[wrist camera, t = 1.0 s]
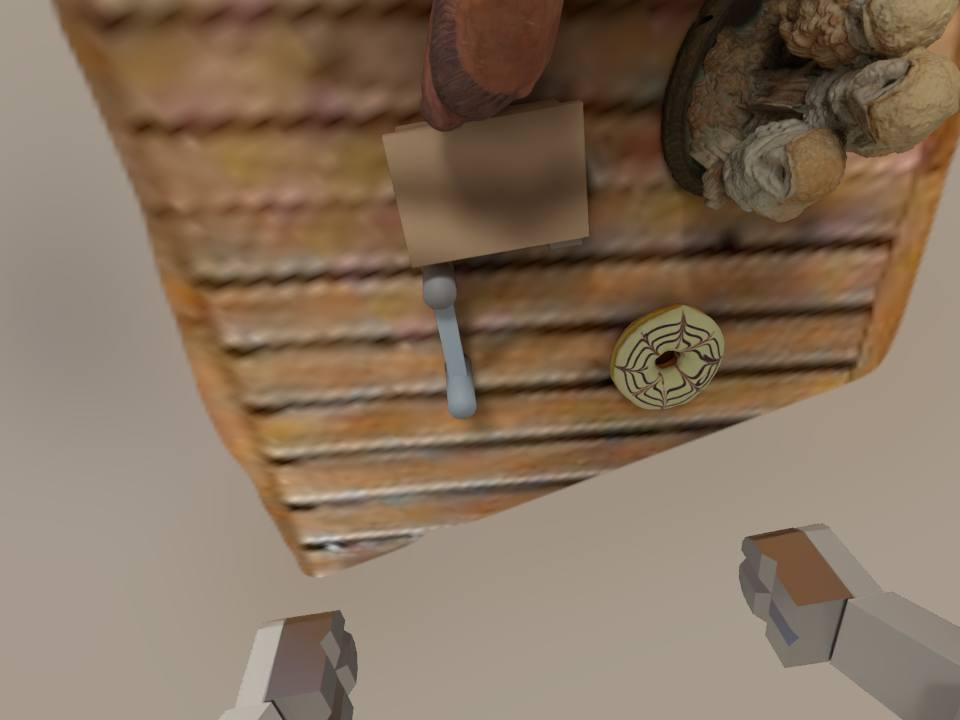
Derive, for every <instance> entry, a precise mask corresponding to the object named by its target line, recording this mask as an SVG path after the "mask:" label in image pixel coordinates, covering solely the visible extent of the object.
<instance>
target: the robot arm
mask: <svg viewBox="0 0 960 720" xmlns="http://www.w3.org/2000/svg"><path fill="white" fill-rule="evenodd" d="M742 552H743V553H744V555H745V556H746V559H745V560H744V561H743V562H742V563H741V564H740V567H739V580H740V584H741V589H742V592H743V595H744V597H745V599H746V602H747V603H748V605H749V607H750V609H751V611H752V613H753V614H754V615H756V616H758V617H759V618H761V619H762V620H764V621H765V622H767V627H766V637H767V639H768V640H769V642H770V644H771V645H772V647H773V649H774V650H775V652H776V654H777V655H778V657H779V659H780V661H781V662H782V664H783V665H784V667H785V668H787V667H793V666H801V665H807V664H814V663H821V662H828V661H831V663H830V664H831V665H833V666H834V667H835V668H836V669H838V670H839V671H840V672H842V673H843V674H844V675H846V676H847V677H848V678H849V679H851V680H852V681H853V682H855V683H856V684H857V685H858V686H860V687H861V688H862V689H864V690H865V691H866V692H868V693H869V694H870V695H872V696H873V697H874V698H875V699H877V700H878V701H879V702H881V703H882V704H883V705H884V706H886V707H887V708H888V709H890V710H891V711H892V712H894V713H895V714H896V715H897V716H899V717H900V718H902V719H903V720H960V627H958V626H957V625H955V624H953V623H951V622H949V621H947V620H945V619H943V618H941V617H939V616H938V615H936V614H934V613H932V612H930V611H928V610H926V609H924V608H922V607H921V606H919V605H917V604H915V603H913V602H911V601H909V600H907V599H905V598H903V597H901V596H900V595H898V594H896V593H894V592H887V593H884V591H883V590H882V589H881V588H880V587H879V586H878V584H877V583H876V582H875V581H874V580H873V579H872V577H871V576H870V575H869V574H868V573H867V571H866V570H865V569H864V568H863V567H862V566H861V564H860V563H859V562H858V561H857V560H856V559H855V557H853V555H852V554H851V553H850V552H849V550H848V549H847V548H846V547H845V546H844V545H843V544H842V542H841V541H840V540H839V539H838V537H837V536H836V535H835V534H834V533H833V532H832V531H831V529H830V528H829V527H828V526H826V525H824V524H823V523H822V524H814V525H809V526H804V527H798V528H789V529H784V530H779V531H774V532H769V533H763V534H758V535H753V536H748V537H745V539H744V540H743V543H742ZM344 624H345V619H344V617H343V616H342V614H341V612H340V610H337V611H331V612H325V613H318V614H311V615H305V616H298V617H292V618H285V619H279V620H273V621H267V622H263V623H262V624H261V626H260V627H259V629H258V630H257V633H256V636H255V640H254V643H253V646H252V650H251V653H250V657H249V660H248V663H247V667H246V670H245V674H244V677H243V680H242V684H241V687H240V691H239V694H238V698H237V701H236V704H235V707H234V708H232V709H227V710H226V711H225V712H224V713H223V715H222V716H221V717H220V718H219V719H218V720H352V716H353V706H352V703H351V701H350V699H349V697H348V695H349V693H350V692H351V691H352V689H353V688H354V686H355V685H356V679H357V669H358V667H357V651H356V647H355V642H354V640H353V637H352V635H351V634H350V633H348V632H346V631H344Z"/></svg>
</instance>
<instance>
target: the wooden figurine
mask: <svg viewBox="0 0 960 720" xmlns="http://www.w3.org/2000/svg"><path fill="white" fill-rule="evenodd" d="M563 2H564V0H433V4H432V10H431V15H430V21H429V28H428V37H427V46H426V54H425V62H424V68H423V75H422V98H421V102H420V110H421V114H422V116H423V118H424V119H425V121H426V122H427V123H428V124H429V125H430V126H431V127H432V128H433V129H435V130H438V131H441V132H446V131H453V130H454V129H457V128H459V127H461V126H462V125H463V124H464V123H466V122H469V121H472V120H474V121H482V120H485V119H488V118H491V117H492V116H494V115H495V114H497V113H498V112H500V111H501V110H503V109H504V108H505V107H507V106H508V105H509V104H510V103H512V102H513V101H514V100H516V99H519V98H523V97H525V96H527V95H529V93H530V92H531V91H532V89H533V87H534V85H535V83H536V82H537V80H538V79H539V78H540V77H541V75H542V73H543V72H544V70H545V68H546V66H547V65H548V63H549V61H550V59H551V56H552V53H553V49H554V46H555V42H556V38H557V32H558V27H559V23H560V17H561V12H562V7H563Z"/></svg>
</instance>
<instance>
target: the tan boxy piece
mask: <svg viewBox="0 0 960 720" xmlns="http://www.w3.org/2000/svg"><path fill="white" fill-rule="evenodd" d="M382 140H383V144H384V149H385V153H386V157H387V162H388V166H389V170H390V175H391V179H392V183H393V188H394V192H395V196H396V201H397V205H398V209H399V213H400V218H401V222H402V226H403V231H404V235H405V239H406V244H407V248H408V252H409V257H410V261H411V265H412V268H414V267H419V266H421V270H422V274H423V272H424V269H425V268H426V266H427V265H431V264H436V263H442V262H445V263H447V264H448V265H450V266H451V268H452V269H453V271H454V267H453V260H459V259H465V258H470V257H476V256H482V255H487V254H493V253H499V252H504V251H510V250H516V249H521V248H527V247H533V246H538V245H544V244H548V246H549V248H550V250H553V249H558V248H564V247H570V246H575V245H581V244H582V238H583V237H589V223H588V201H587V180H586V158H585V137H584V115H583V101H581V100H575V101H569V102H564V103H560V102H559V101H557V100H555V99H554V98H553V99H547V100H542V101H536V102H531V103H525V104H519V105H514V106H508V107H505V108H504V109H503V110H501V111H500V112H498V113H497V114H495V115H494V116H492V117H491V118H488V119H485V120H482V121H474V120H472V121H469V122H466V123H464V124H463V125H462V126H461V127H459V128H457V129H454V130H453V131H446V132H441V131H438V130H435V129H433V128H432V127H431V126H430V125H429V124H428V123H427V122H426V121H424V122H418V123H412V124H407V125H401V126H396V128H395V132H394V133H389V134H383V135H382ZM454 276H455V272H454ZM455 284H456V277H455ZM456 288H457V284H456Z"/></svg>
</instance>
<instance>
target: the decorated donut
mask: <svg viewBox="0 0 960 720" xmlns="http://www.w3.org/2000/svg"><path fill="white" fill-rule="evenodd" d="M724 346H725V342H724V338H723V334H722V332H721V329H720V328H719V327H718V325H717V324H716V323H715V322H714V320H713V319H711V318H710V317H709V316H707V315H706V314H705V313H704V312H702V311H700V310H699V309H697V308H695V307H692V306H689V305H683V304H673V305H670V306H667V307H664V308H661V309H657V310H655V311H652V312H650V313H648V314H646V315H644V316H642V317H640V318H638V319H637V320H635V321H633V322H632V323H631V324H630V325H629V326H628V327H627V328H625V330H624V331H623V333H621V335H620V336H619V338H618V340H617V341H616V343H615V346H614V349H613V352H612V356H611V363H610V375H611V378H612V380H613V382H614V384H615V386H616V387H617V388H618V390H619V391H620V392H621V393H622V394H623V395H624V396H625V397H627V398H628V399H629V400H631V401H632V402H633V403H634V404H635V405H637V406H639V407H641V408H644V409H647V410H655V409H657V410H662V409H667V408H672V407H675V406H678V405H682V404H685V403H688V402H690V401H691V400H692V399H693V398H695V397H696V396H697V395H698V394H699V393H700V392H702V391H704V390H705V389H706V387H707V386H708V384H709V383H710V381H711V379H712V378H713V377H714V375H715V374H716V372H717V370H718V368H719V366H720V364H721V362H722V359H723V355H724ZM666 351H675V353H674V355H673V357H672V358H671V359H670V360H669V361H668V362H666V363H664V364H656V363H655V360H656V359H657V358H658V357H660V356H661V355H662V354H663V353H664V352H666Z"/></svg>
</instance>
